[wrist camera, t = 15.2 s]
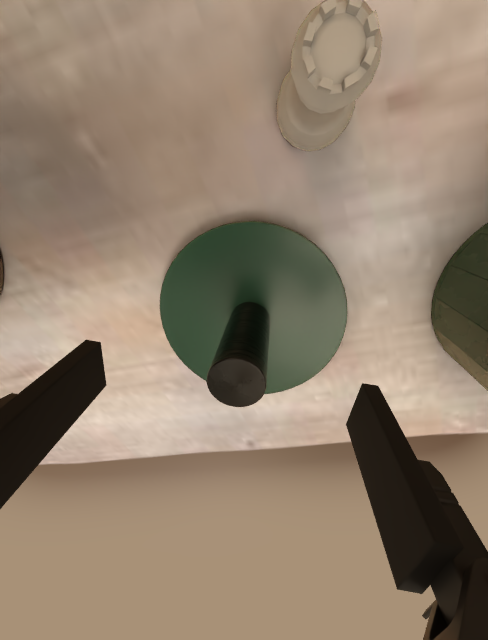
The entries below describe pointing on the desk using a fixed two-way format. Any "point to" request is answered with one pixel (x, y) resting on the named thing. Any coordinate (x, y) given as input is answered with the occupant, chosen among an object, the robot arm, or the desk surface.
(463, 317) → the pot
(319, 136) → the rook chess piece
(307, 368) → the lid
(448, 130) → the desk surface
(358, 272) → the desk surface
